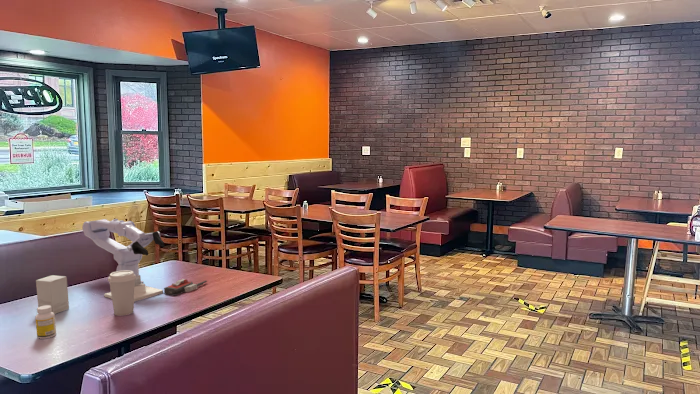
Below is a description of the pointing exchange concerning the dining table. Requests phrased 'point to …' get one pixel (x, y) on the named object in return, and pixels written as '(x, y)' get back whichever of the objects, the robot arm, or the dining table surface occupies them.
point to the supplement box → (53, 293)
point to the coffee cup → (122, 291)
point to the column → (137, 280)
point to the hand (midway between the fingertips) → (155, 248)
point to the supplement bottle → (45, 322)
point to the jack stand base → (141, 292)
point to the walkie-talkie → (181, 287)
